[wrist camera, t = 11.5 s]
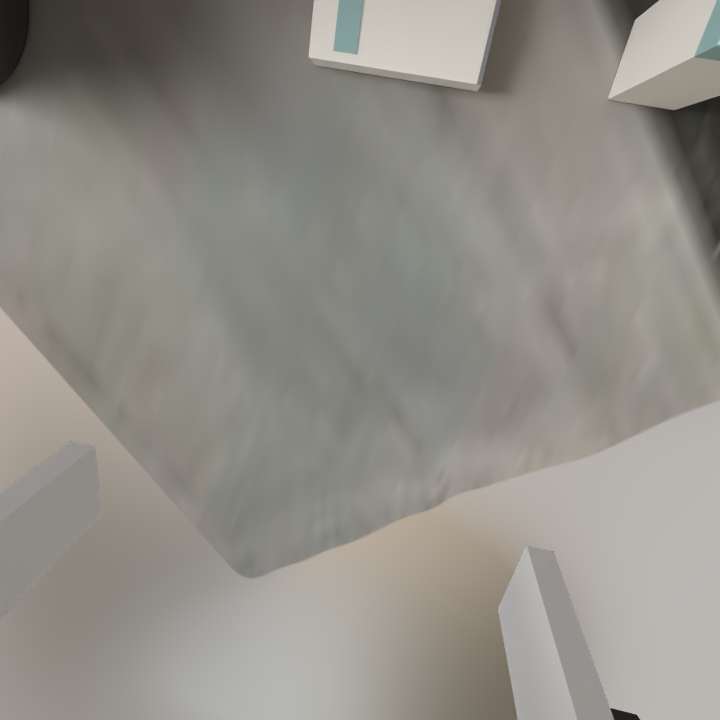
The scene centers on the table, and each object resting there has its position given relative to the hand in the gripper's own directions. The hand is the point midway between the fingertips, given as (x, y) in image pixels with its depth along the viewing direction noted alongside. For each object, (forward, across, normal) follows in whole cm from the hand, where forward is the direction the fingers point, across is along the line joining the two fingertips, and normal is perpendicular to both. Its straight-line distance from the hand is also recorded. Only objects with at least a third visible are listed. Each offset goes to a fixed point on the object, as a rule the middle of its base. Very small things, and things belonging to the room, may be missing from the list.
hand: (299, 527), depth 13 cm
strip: (+26, -2, +20) cm, 33 cm away
